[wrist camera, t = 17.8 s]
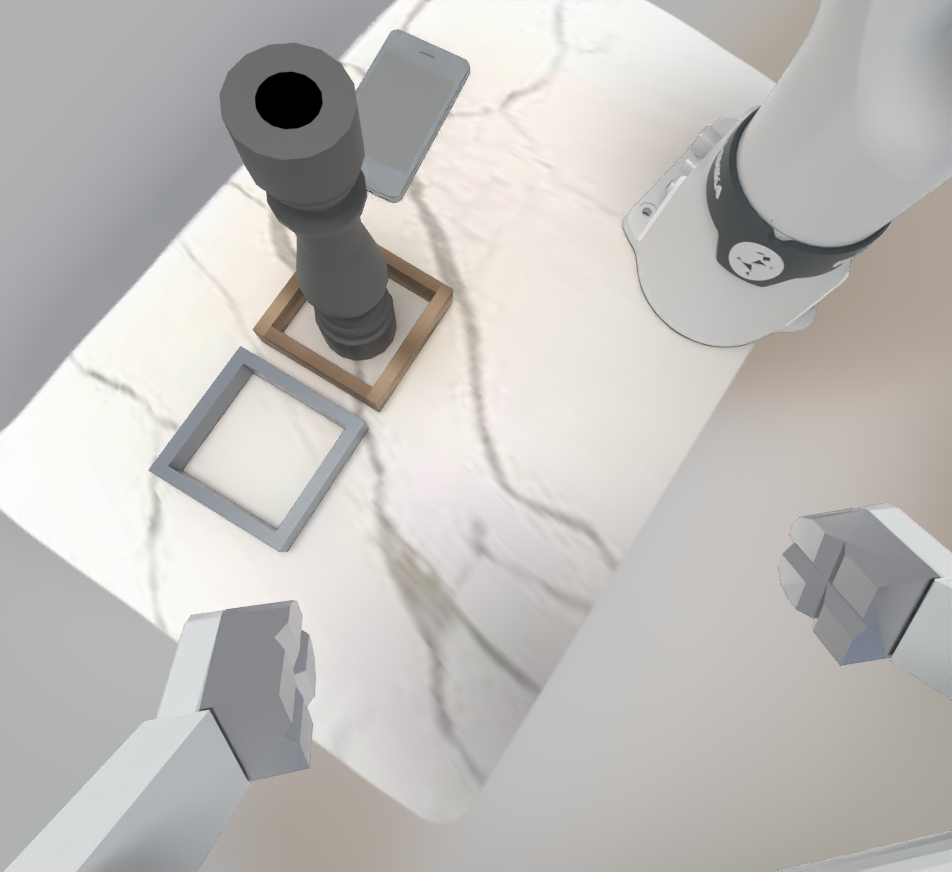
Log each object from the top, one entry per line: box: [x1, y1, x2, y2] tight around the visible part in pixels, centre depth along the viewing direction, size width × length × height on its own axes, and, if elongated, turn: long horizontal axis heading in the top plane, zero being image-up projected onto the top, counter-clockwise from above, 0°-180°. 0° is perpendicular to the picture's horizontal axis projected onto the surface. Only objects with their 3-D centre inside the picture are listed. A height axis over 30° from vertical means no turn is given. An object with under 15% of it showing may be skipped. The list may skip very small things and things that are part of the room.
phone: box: [355, 30, 470, 203], centre depth 53 cm, size 8×16×1 cm, turn 156°
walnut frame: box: [253, 244, 453, 412], centre depth 48 cm, size 11×11×2 cm
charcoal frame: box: [148, 346, 369, 552], centre depth 45 cm, size 11×11×2 cm
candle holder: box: [220, 43, 396, 360], centre depth 37 cm, size 6×6×25 cm
